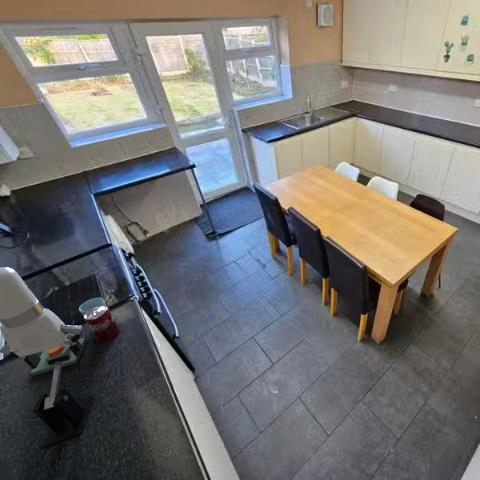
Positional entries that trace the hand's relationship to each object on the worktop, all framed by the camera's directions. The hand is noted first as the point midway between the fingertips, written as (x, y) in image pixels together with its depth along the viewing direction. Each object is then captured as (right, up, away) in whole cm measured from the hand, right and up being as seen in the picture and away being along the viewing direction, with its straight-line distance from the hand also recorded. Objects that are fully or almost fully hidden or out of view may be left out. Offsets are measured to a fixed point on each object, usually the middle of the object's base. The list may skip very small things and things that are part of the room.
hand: (58, 358), depth 75 cm
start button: (-16, -5, +16) cm, 24 cm away
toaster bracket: (+4, -18, 0) cm, 18 cm away
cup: (-13, 0, +31) cm, 34 cm away
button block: (-16, -8, +18) cm, 26 cm away
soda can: (-6, -3, +26) cm, 27 cm away
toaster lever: (+2, -6, -2) cm, 6 cm away
